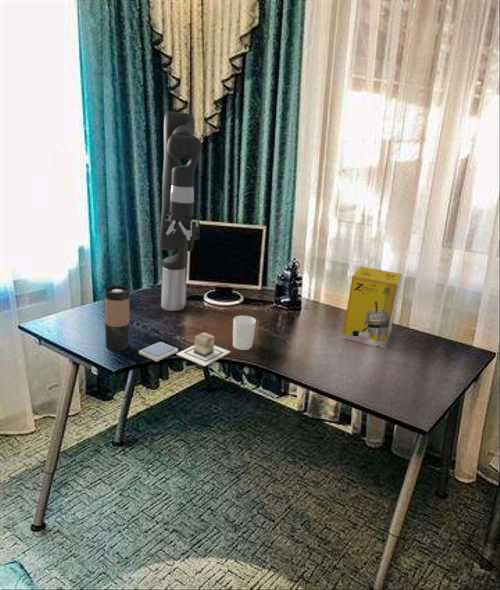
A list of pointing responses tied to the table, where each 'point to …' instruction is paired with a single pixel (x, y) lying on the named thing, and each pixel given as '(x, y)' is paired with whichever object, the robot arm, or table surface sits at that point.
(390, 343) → the table surface
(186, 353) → the sheet
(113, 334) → the travel mug
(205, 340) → the stamp
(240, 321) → the white cup
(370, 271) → the packaging box
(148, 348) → the ink pad
